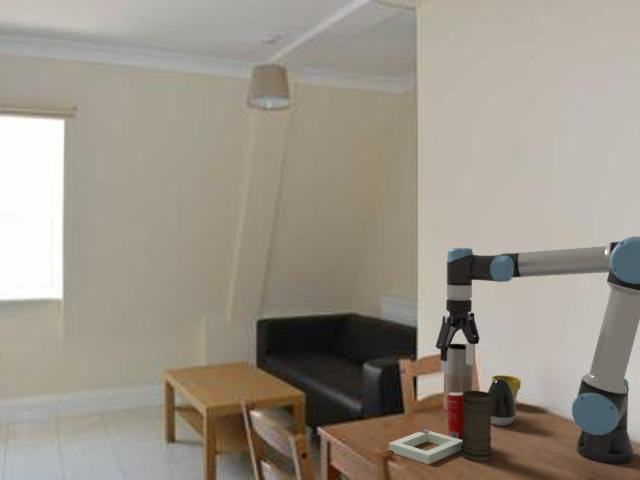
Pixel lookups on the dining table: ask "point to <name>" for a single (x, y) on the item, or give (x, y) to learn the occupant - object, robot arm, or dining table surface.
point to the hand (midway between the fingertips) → (457, 368)
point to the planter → (457, 372)
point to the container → (477, 426)
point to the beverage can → (455, 414)
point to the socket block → (408, 450)
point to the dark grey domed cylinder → (502, 403)
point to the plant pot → (510, 383)
